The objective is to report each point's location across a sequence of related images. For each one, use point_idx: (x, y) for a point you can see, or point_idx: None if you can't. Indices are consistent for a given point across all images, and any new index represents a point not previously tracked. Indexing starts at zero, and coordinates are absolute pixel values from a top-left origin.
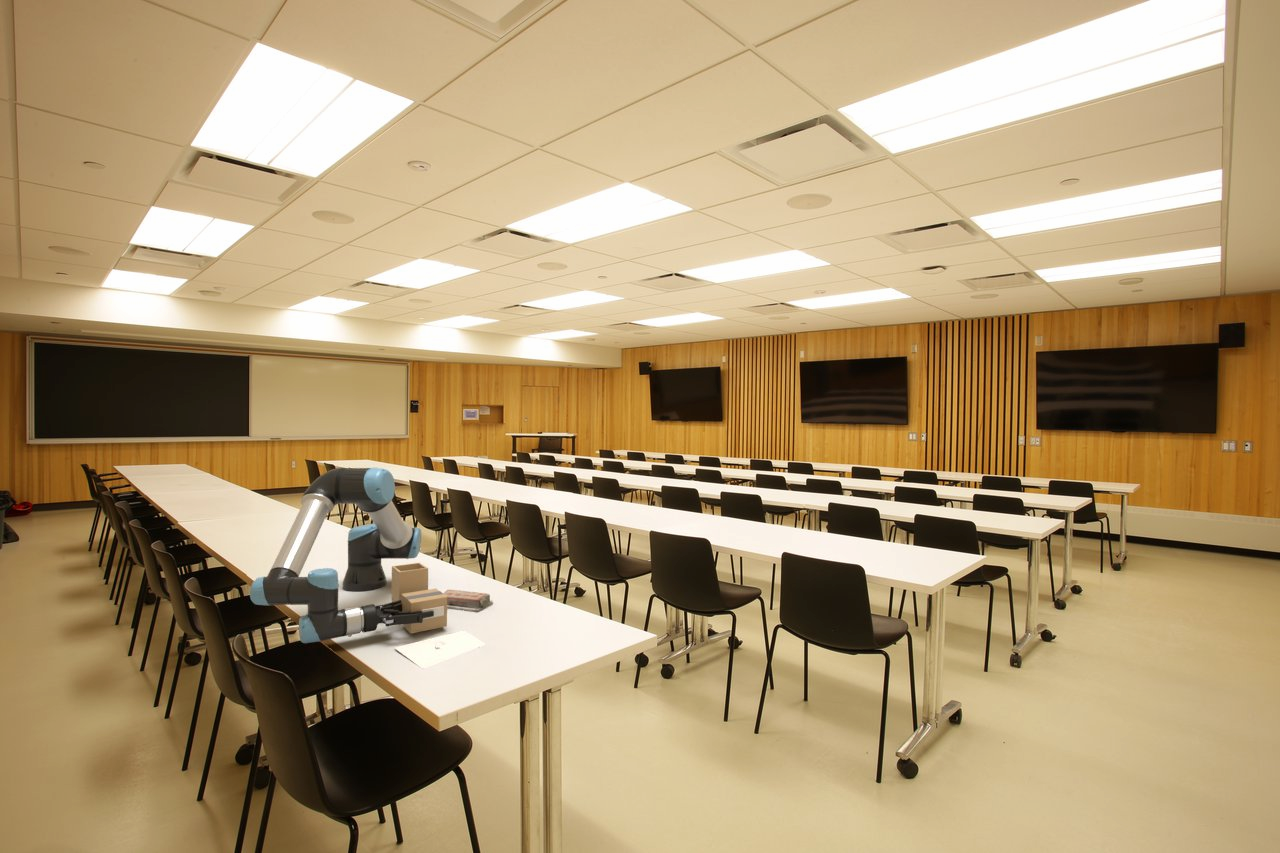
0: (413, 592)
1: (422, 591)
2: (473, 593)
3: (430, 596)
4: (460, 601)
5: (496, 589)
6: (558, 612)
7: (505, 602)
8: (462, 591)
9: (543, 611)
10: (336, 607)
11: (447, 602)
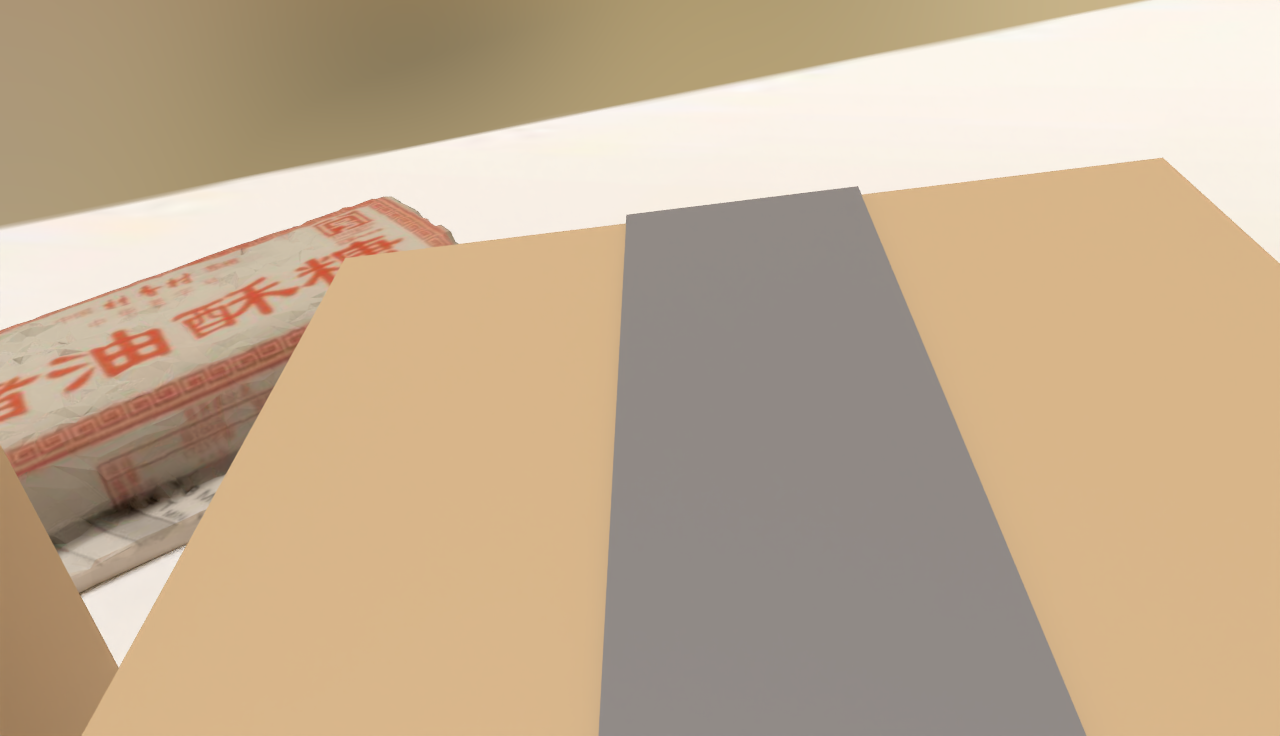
0: (187, 636)
1: (335, 440)
2: (247, 260)
3: (980, 345)
4: (253, 394)
5: (80, 243)
6: (925, 79)
7: (449, 229)
8: (76, 313)
9: (852, 117)
10: None
11: (52, 513)
